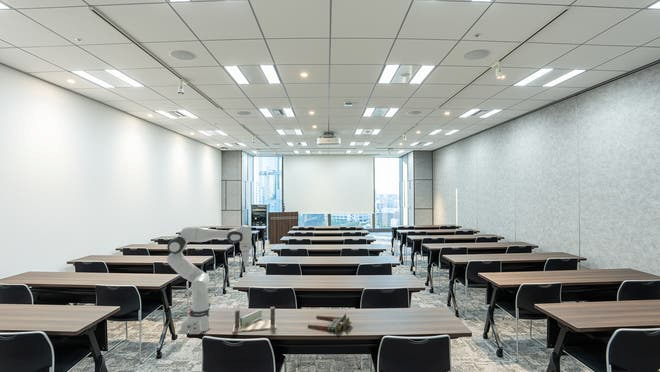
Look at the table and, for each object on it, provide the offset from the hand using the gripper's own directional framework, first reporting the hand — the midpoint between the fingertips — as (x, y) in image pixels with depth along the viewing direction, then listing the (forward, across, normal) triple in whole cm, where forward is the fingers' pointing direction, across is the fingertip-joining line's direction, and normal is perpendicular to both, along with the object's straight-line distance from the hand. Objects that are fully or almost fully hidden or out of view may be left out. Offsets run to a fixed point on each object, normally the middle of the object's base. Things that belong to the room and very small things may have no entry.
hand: (245, 264), depth 239 cm
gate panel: (+43, 0, +4) cm, 44 cm away
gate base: (+45, +7, +7) cm, 46 cm away
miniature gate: (+46, +16, +63) cm, 80 cm away
